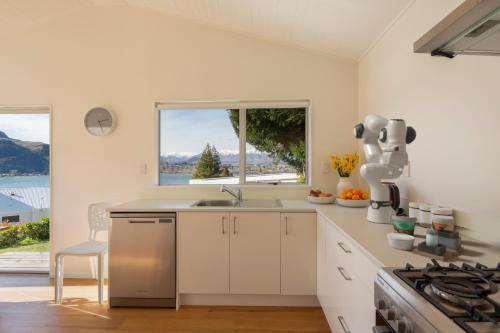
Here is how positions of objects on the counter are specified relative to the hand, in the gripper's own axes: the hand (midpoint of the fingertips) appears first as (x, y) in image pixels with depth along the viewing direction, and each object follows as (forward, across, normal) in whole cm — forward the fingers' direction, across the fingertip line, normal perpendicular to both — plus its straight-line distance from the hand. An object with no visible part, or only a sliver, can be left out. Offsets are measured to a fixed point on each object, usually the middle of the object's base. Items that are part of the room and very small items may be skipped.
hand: (395, 174), depth 137 cm
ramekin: (+34, +18, +11) cm, 39 cm away
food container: (+33, -5, +3) cm, 34 cm away
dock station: (+33, +10, +24) cm, 42 cm away
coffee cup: (+33, -11, +18) cm, 39 cm away
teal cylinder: (+32, +17, +24) cm, 43 cm away
